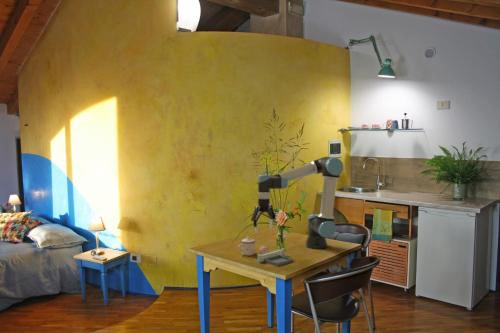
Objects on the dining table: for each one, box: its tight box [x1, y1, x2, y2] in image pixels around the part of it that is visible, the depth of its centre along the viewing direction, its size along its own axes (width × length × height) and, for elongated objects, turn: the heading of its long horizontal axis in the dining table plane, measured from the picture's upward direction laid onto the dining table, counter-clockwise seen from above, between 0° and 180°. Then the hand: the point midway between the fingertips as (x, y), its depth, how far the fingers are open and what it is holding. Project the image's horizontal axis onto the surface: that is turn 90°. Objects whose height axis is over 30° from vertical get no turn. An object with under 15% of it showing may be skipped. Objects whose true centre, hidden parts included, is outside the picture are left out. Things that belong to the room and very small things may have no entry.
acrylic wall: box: [256, 247, 286, 263], centre depth 262 cm, size 23×2×5 cm, turn 131°
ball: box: [258, 245, 270, 255], centre depth 269 cm, size 6×6×6 cm
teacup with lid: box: [237, 235, 256, 256], centre depth 273 cm, size 12×9×12 cm
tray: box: [263, 255, 294, 267], centre depth 256 cm, size 14×12×2 cm
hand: (263, 230), depth 268 cm, fingers open, 13 cm apart
